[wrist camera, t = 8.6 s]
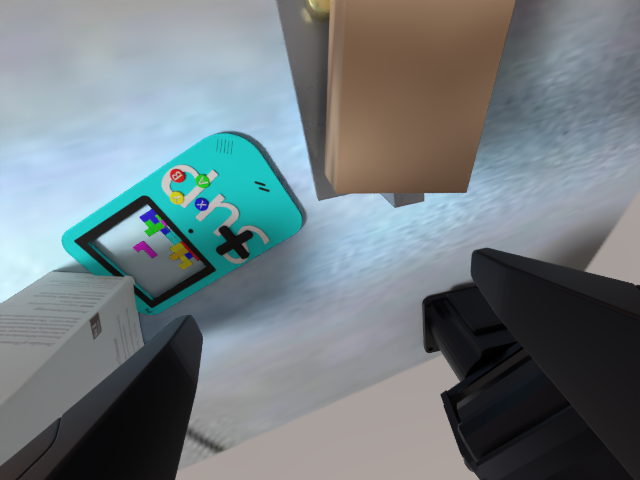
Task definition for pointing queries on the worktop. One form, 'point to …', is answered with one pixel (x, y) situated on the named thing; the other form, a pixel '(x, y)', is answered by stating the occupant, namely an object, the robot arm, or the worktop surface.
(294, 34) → the chassis
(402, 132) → the tan block
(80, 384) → the skincare box
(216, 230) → the handheld gaming console
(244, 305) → the worktop surface
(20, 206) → the worktop surface
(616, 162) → the worktop surface
